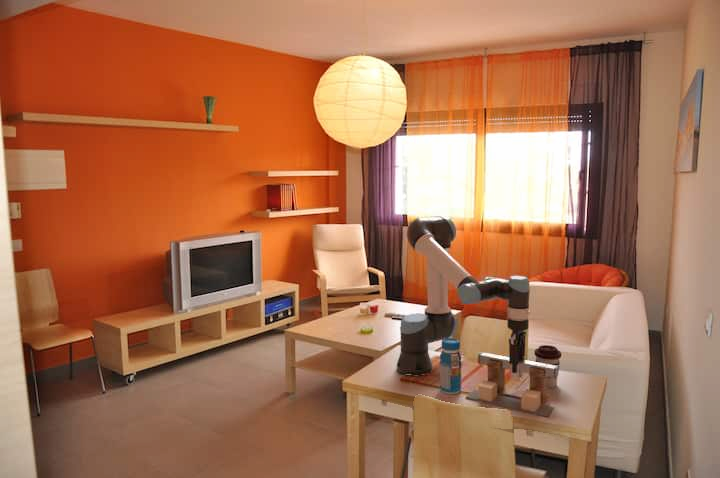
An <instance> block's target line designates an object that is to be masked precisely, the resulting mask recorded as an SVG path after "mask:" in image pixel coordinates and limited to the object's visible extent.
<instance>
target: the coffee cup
mask: <svg viewBox="0 0 720 478" xmlns="http://www.w3.org/2000/svg"><path fill="white" fill-rule="evenodd" d="M534 356H535V362H539V363H544V364H550V365H555V366H556V365H559V366H560V358H562V352H561V351H560V350H558V348H557V347H556V346H554V345H549V344H546V345H545V344H543V345H540V346H538V348H535V350H534ZM559 370H560V368H559V369H558V374H559ZM558 376H559V375H558ZM558 376H557V378H556V379H555V378H551V377H547V388H555V387H557V384H558Z"/></svg>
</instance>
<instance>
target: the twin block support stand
mask: <svg viewBox="0 0 720 478" xmlns="http://www.w3.org/2000/svg"><path fill="white" fill-rule="evenodd" d="M477 387H478V389H473V390H472V391H471V392H469V393H468V394H467V395H466V396H465V399H467V400H471V401H474V402H480V403H484V404H489V405H493V406H496V407H502V408H505V409H510V410H514V411H519V412H523V413H527V414H532V415H536V416H540V417H544V418H548V417H549V416H551V413H553V411H554V409H555V408H554V406H551V405H546V404H541V403H540V397H541V392H538V391H533V390H529V389H525V390H524V391H525V392H524V393H523V394H522V396H521V399H518V398H513V397H509V396H504V395H500V394H497V383H495V382H490V381H488V380H485V379H484V380H483V381H482V382H480V384H478V386H477Z"/></svg>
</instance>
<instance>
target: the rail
mask: <svg viewBox="0 0 720 478" xmlns="http://www.w3.org/2000/svg"><path fill="white" fill-rule="evenodd" d="M477 355H478V356H477V364H478V365H485V366H487V361H488V360H491V361H496V362H501V368H504V369H505V370H510V371H511V364H510V363H509V356H505V355H500V354H499V355H498V354H494V353H489V352H488V353H487V352H484V351H480V352H478V354H477ZM518 364H519V371H520V372H522V373H527V374H529V369H530V368H534V369H539V370H544V376H545V377H551V378H555V379H556V378H557V379H558V377H557V376H559V373H558V369H559V370H560V364H559V365H556V366H555V365H550V364H544V363H539V362H536V361H533V360H527V359H525V360H522V359H519V360H518Z"/></svg>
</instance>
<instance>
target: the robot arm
mask: <svg viewBox="0 0 720 478" xmlns="http://www.w3.org/2000/svg"><path fill="white" fill-rule="evenodd" d="M455 238H457V228H456V225H455V223H454V221H452V220H451V218H450V217H447V216H444V215H443V216H441V215H436V216H429V217H428V216H427V217H418V218H415V219H414V220H412V221H411V222H410V223H409V225H408V227H407V230H406V239H407V242H408V244H409V245H410V247H411V248H412V249H413V250H414V252H416V253H418V254H422V256H423V257H424V258H425V259H426V261H427V262H426V263H427V264H426V265H427V306H426V307H425V308H424V313H418V312H416V313H410V314H407V315H405V316H403V317H402V318H401V320H400V327H399V330H400V353H399V357H398V359H397V362H396V371H397V372H398V373H399V374H401V375H404V374H411V375H422V374H427V373H429V374H431V373H432V372H433V363H432V360H431V358H430V354H429V344H431V343H436V342H439V341H442V340H443V339H445V338H452V337H453V336H454V335H455V333H456V332H457V329H458V320H457V318H456V316H455V314H454V313H453V312H452V309H451V307H450V306H449V304H448V303H449V302H448V301H449V297H448V296H449V294H448V293H449V292H448V288H449V287H448V282H449V283H450V284H451V285H452V286H453V287H454V288H455V289H456V290H457V297H458V299H459V301H460V302H461V303H462V304H464V305H473V304H477V303H481V302H484V301H489V300H495V299H501V300H504V301H507V328H508V329H509V330H511V331H512V332H511V334H510V338H509V339H508V345H509V350H508V351H509V356H508V357H509V363H510V364H511V370H510V372H511V373H510V380H511V381H514V382H519V381H520V378H521V379H522V378H523V372H520V371H519V364H518V360H519V359H522V360H526V335H527V330H528V329H529V323H530V322H529V321H530V319H529V316H530V315H529V314H530V313H531V310H529V309H530V290H531V288H530V279H529V278H528V277H527V276H523V275H512V276H509V277H508V279H505V278H500V277H496V276H486V277H485V278H484V279H482V280H479V281H477V279H476V278H474V276H473V275H472V274H471V273H469V272H468V271H467V270H466V269H465V268H464V267H463V266H462V265H461V264H460V263H459V262H458V261H457V260H456V259H455V258H454V257H453V256H452V255H451V254H449V252H448V251H449V250H450V249H451V247H452V245H451V243H453V241H455ZM431 371H432V372H431ZM430 372H431V373H430ZM427 375H428V374H427Z"/></svg>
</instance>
